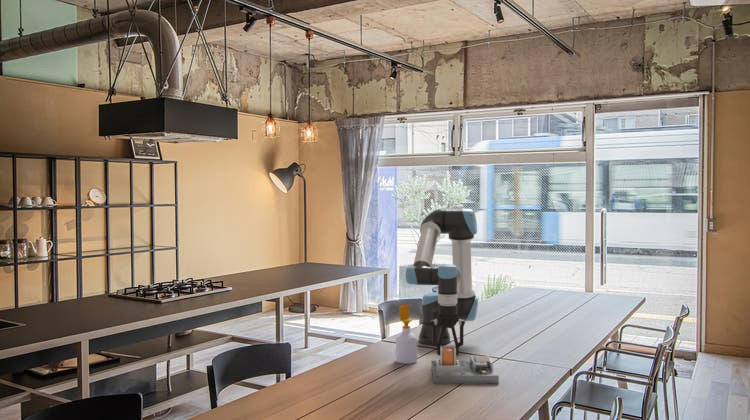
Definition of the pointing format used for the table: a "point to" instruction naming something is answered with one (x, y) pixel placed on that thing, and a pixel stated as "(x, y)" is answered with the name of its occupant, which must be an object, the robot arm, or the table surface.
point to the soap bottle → (406, 340)
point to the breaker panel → (464, 372)
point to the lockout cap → (447, 356)
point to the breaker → (481, 359)
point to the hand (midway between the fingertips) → (447, 363)
